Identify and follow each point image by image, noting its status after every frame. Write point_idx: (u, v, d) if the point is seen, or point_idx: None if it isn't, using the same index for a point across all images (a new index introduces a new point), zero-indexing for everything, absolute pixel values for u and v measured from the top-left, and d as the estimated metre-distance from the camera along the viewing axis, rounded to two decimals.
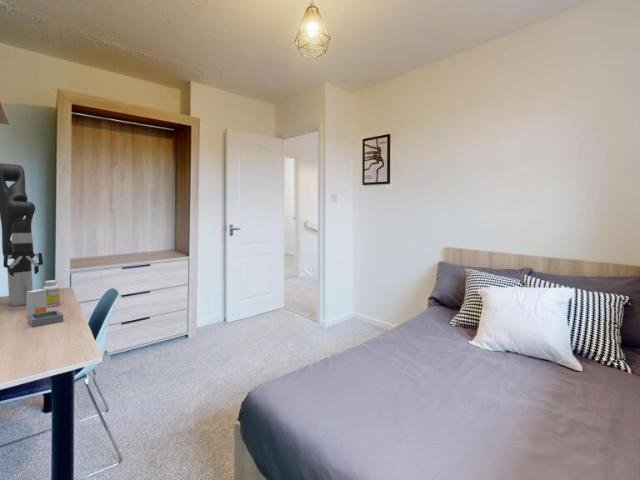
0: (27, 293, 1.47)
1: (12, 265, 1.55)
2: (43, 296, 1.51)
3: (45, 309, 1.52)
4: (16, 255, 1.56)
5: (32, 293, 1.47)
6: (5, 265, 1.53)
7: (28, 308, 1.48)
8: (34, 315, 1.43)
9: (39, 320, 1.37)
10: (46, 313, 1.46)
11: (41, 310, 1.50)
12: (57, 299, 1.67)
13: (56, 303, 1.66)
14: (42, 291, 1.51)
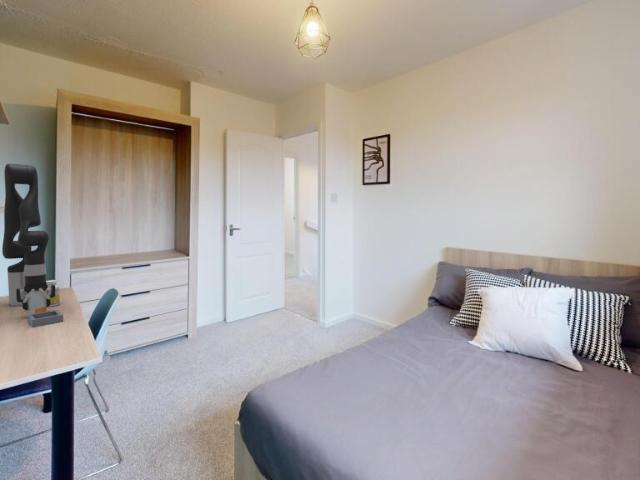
0: (27, 293, 1.47)
1: (25, 299, 1.46)
2: (43, 296, 1.51)
3: (45, 309, 1.52)
4: (28, 288, 1.47)
5: (32, 293, 1.47)
6: (18, 300, 1.44)
7: (28, 308, 1.48)
8: (34, 315, 1.43)
9: (39, 320, 1.37)
10: (46, 313, 1.46)
11: (41, 310, 1.50)
12: (57, 299, 1.67)
13: (56, 303, 1.66)
14: None
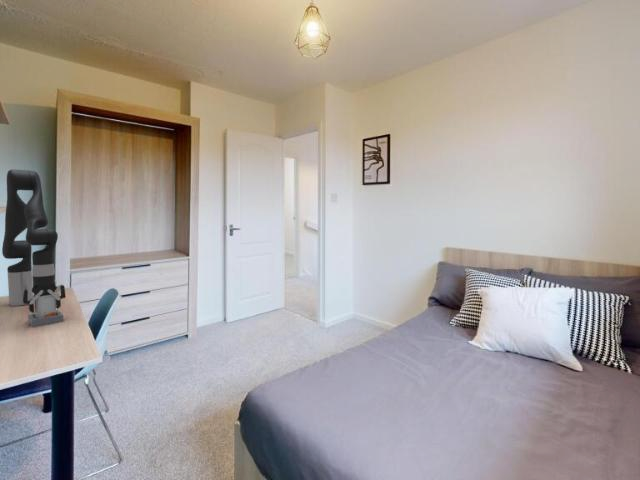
0: None
1: (32, 300, 1.38)
2: (52, 301, 1.44)
3: (54, 314, 1.45)
4: (37, 289, 1.39)
5: (41, 298, 1.39)
6: (25, 301, 1.36)
7: (37, 314, 1.40)
8: (34, 315, 1.43)
9: (39, 320, 1.37)
10: None
11: (50, 315, 1.43)
12: None
13: None
14: (51, 296, 1.43)
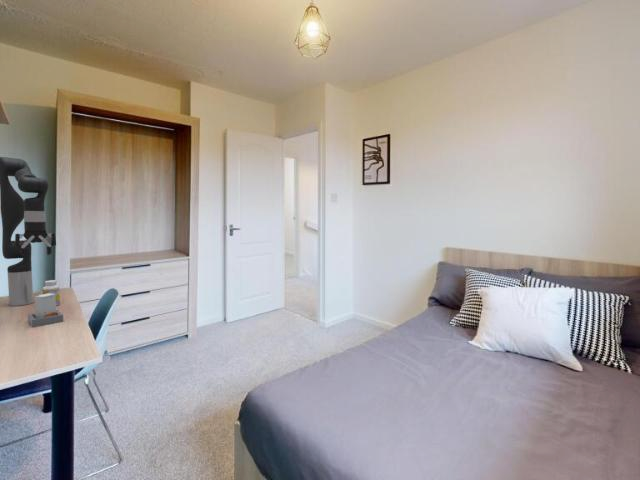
0: (36, 298, 1.40)
1: (24, 245, 1.46)
2: (52, 301, 1.44)
3: (54, 314, 1.45)
4: (28, 234, 1.47)
5: (41, 298, 1.39)
6: (17, 244, 1.44)
7: (37, 314, 1.40)
8: (34, 315, 1.43)
9: (39, 320, 1.37)
10: None
11: (50, 315, 1.43)
12: (57, 299, 1.67)
13: (56, 303, 1.66)
14: (51, 296, 1.43)
